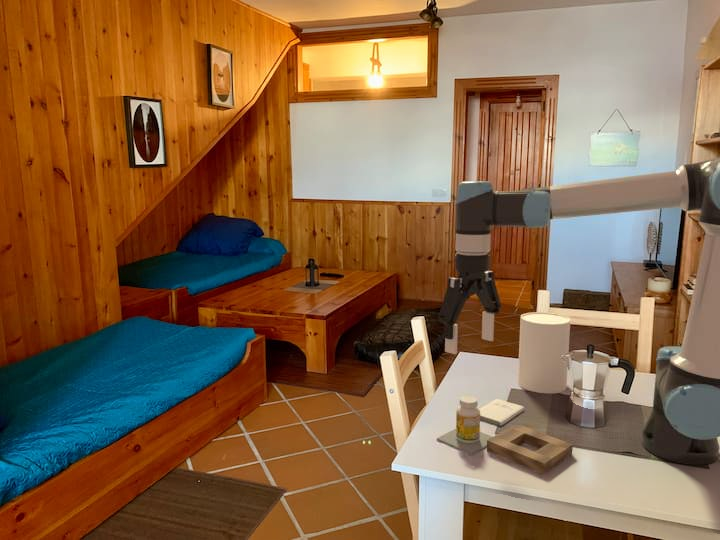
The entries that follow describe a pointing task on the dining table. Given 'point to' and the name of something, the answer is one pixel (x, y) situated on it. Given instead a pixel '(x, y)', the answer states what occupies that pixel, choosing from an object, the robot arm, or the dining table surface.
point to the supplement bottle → (468, 420)
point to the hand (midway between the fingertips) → (469, 346)
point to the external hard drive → (499, 412)
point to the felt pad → (466, 447)
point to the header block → (539, 461)
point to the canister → (543, 352)
